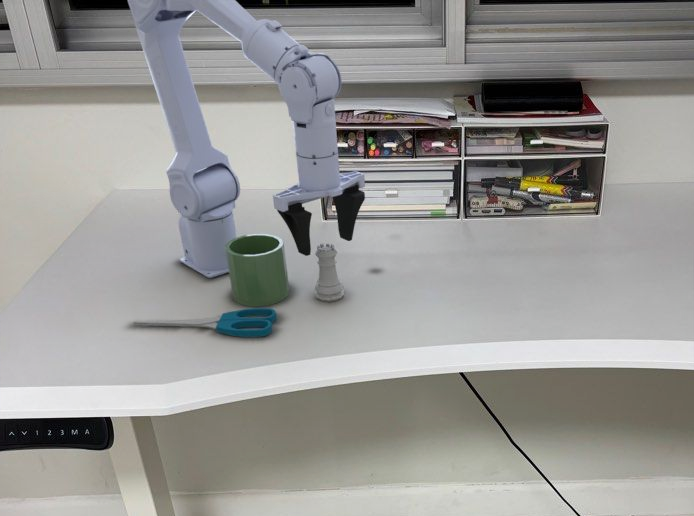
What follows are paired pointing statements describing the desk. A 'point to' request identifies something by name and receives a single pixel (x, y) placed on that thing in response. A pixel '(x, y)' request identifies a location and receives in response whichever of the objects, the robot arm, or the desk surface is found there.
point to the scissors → (229, 322)
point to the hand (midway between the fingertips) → (325, 246)
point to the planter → (257, 269)
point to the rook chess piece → (328, 275)
